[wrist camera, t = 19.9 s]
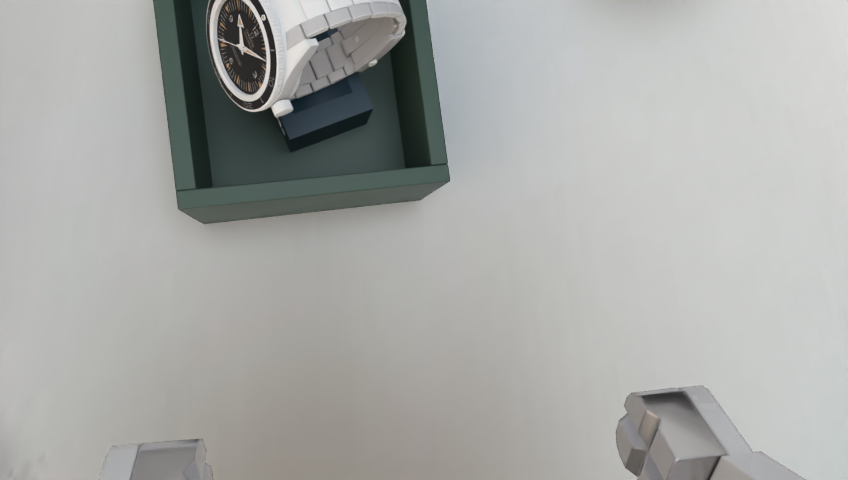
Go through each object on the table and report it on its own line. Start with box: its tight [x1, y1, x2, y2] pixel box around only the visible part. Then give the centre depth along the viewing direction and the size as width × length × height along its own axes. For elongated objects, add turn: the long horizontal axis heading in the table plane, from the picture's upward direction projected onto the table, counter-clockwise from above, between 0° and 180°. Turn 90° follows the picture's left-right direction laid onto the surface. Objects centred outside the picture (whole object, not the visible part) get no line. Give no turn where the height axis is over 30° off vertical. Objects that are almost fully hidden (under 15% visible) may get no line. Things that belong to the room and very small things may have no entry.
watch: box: [206, 0, 407, 153], centre depth 27 cm, size 6×8×11 cm
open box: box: [153, 0, 450, 224], centre depth 30 cm, size 13×12×7 cm
